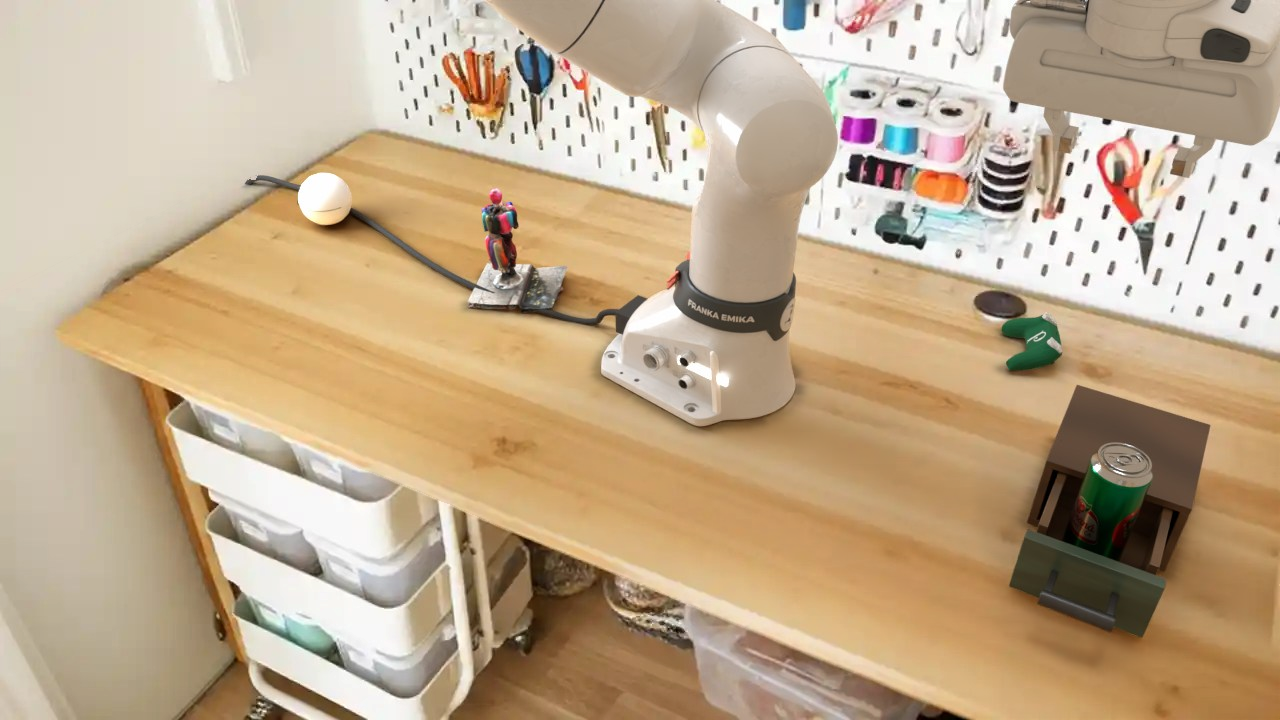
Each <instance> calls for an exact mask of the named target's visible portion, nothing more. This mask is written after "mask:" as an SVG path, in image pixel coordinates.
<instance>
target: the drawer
mask: <svg viewBox="0 0 1280 720" xmlns="http://www.w3.org/2000/svg"><path fill="white" fill-rule="evenodd" d="M1082 481H1083V479H1080V478H1077V477H1075V476H1072V475H1069V474H1066V473H1063V472H1060V471H1059V472H1058V475H1057V478H1056V480H1055V483H1054V485H1053V488H1052V491H1051V493H1050V496H1049V498H1048V501H1047V504H1046V506H1045V509H1044V512H1043V514H1042V517H1041V519H1040V522H1039V525H1038V526H1037V528H1036V531H1034V530H1032V529H1029V528H1027V529H1026V532H1025V534H1024V537H1023V540H1022V543H1021V546H1020V549H1019V553H1018V556H1017V559H1016V562H1015V565H1014V568H1013V571H1012V574H1011V576H1010V577H1011V578H1010V580H1009V583H1008V587H1009V588H1012V589H1014V590H1017V591H1019V592H1022V593H1025V594H1027V595H1030V596H1032V597H1034V598H1038V599H1037V602H1036V604H1037V605H1038V606H1041V607H1043V608H1047V609H1049V610H1051V611H1054V612H1057V613H1059V614H1062V615H1064V616H1066V617H1069V618H1072V619H1075V620H1077V621H1080V622H1081V623H1084V624H1087V625H1090V626H1093V627H1094V628H1098V629H1100V630H1103V631H1105V632H1108V633H1112V631H1113V629H1114V628H1115V629H1118V630H1119V631H1123V632H1125V633H1127V634H1130V635H1133V636H1136V637H1138V638H1141V639H1142V638H1144V636H1145V634H1146V631H1147V629H1148V627H1149V625H1150V622H1151V621H1152V617H1153V615H1154V613H1155V611H1156V608H1157V607H1158V605H1159V603H1160V600H1161V598H1162V596H1163V593H1164V591H1165V588H1166V585H1167V579H1166V577H1165V578H1164V577H1162V576H1159V575H1157V574H1158V572H1159V571H1160V570H1159V567H1160V563H1161V559H1162V555H1163V551H1164V547H1165V542H1166V538H1167V534H1168V530H1169V526H1170V521H1171V517H1172V513H1173V509H1170V508H1167V507H1164V506H1161V505H1158V504H1155V503H1152V502H1149V501H1146V500H1144V502H1143V504H1142V507H1141V509H1140V512H1139V514H1138V517H1137V519H1136V522H1135V524H1134V527H1133V529H1132V532H1131V534H1130V537H1129V539H1128V542H1127V544H1126V547H1125V549H1124V552H1123V554H1122V557H1121V559H1120V561H1119V562H1118V561H1115V560H1112V559H1109V558H1107V557H1104V556H1101V555H1098V554H1096V553H1093V552H1090V551H1087V550H1085V549H1082V548H1079V547H1076V546H1073V545H1071V544H1068V543H1065V542H1062V538H1063V536H1064V533H1065V530H1066V527H1067V524H1068V521H1069V518H1070V516H1071V513H1072V510H1073V507H1074V504H1075V501H1076V498H1077V496H1078V493H1079V490H1080V487H1081V484H1082Z"/></svg>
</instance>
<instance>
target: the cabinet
mask: <svg viewBox="0 0 1280 720" xmlns="http://www.w3.org/2000/svg"><path fill="white" fill-rule="evenodd" d="M1210 428H1211V424H1209V423H1205V422H1203V421H1199V420H1196V419H1192V418H1190V417H1186V416H1184V415H1183V416H1182V415H1179V414H1176V413H1173V412H1170V411H1167V410H1163V409H1160V408H1157V407H1153V406H1150V405H1146V404H1143V403H1140V402H1136V401H1134V400H1130V399H1126V398H1123V397H1120V396H1116V395H1113V394H1110V393H1107V392H1103V391H1100V390H1098V389H1097V390H1096V389H1093V388H1090V387H1087V386H1083V385H1080V384H1076V386H1075V388H1074V391H1073V393H1072V396H1071V398H1070V401H1069V403H1068V406H1067V408H1066V410H1065V413H1064V416H1063V418H1062V420H1061V423H1060V426H1059V428H1058V430H1057V433H1056V435H1055V438H1054V440H1053V443H1052V445H1051V448H1050V450H1049V452H1048V456H1047V458H1046V460H1045V464H1044V467H1043V470H1042V473H1041V476H1040V479H1039V483H1038V486H1037V489H1036V492H1035V495H1034V498H1033V501H1032V504H1031V508H1030V511H1029V514H1028V518H1027V519H1026V523H1027V524H1029V525H1032V526H1035V527H1038V525H1039V522H1040V519H1041V517H1042V514H1043V512H1044V509H1045V506H1046V504H1047V501H1048V498H1049V496H1050V493H1051V491H1052V488H1053V485H1054V483H1055V480H1056V478H1057V475H1058V472H1059V471H1060V472H1063V473H1066V474H1069V475H1072V476H1075V477H1077V478H1080V479H1083V478H1084V476H1085V473H1086V470H1087V467H1088V464H1089V461H1090V458H1091V457H1092V455H1093V454H1094V453H1096V452H1097V451H1098V450H1099V448H1100V447H1101V446H1103V445H1105V444H1107V443H1124V444H1128V445H1131V446H1134V447H1136V448H1138V449H1140V450H1141V451H1143V452H1144V453H1145V454H1146V455H1147V456H1148V457H1149V458H1150V460H1151V463H1152V469H1151V470H1152V472H1153V480H1152V482H1151V484H1150V487H1149V489H1148V492H1147V494H1146V497H1145V499H1144V500H1146V501H1149V502H1152V503H1155V504H1158V505H1161V506H1164V507H1167V508H1170V509H1173V513H1172V517H1171V521H1170V526H1169V530H1168V534H1167V538H1166V542H1165V547H1164V551H1163V555H1162V559H1161V563H1160V567H1159V570H1158V571H1160V572H1163V573H1165V571H1166V570H1167V567H1168V565H1169V564H1170V563H1169V562H1170V560H1171V558H1172V556H1173V555H1174V551H1175V549H1176V547H1177V544H1178V542H1179V541H1180V538H1181V536H1182V533H1183V532H1184V528H1185V526H1186V524H1187V522H1188V520H1189V518H1190V515H1191V513H1192V511H1193V508H1194V504H1195V503H1194V502H1195V498H1196V494H1197V489H1198V484H1199V480H1200V475H1201V470H1202V467H1203V462H1204V457H1205V452H1206V448H1207V444H1208V438H1209V434H1210V430H1211V429H1210Z"/></svg>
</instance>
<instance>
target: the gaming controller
mask: <svg viewBox="0 0 1280 720" xmlns="http://www.w3.org/2000/svg"><path fill="white" fill-rule="evenodd" d="M1000 329H1001V332H1002V335H1004V336H1006V337H1009V338H1020V339H1024V342H1025V349H1026V350H1024V351H1021V352H1018V353H1015V354H1014V355H1013V356H1011V357H1010V358H1008V359H1007V360H1006V361H1005V365H1006V368H1007V369H1008V371H1013V372H1024V371H1032V370H1036V369H1039V368H1043V367H1047V366H1049V365H1053V364H1054V363H1056V361H1057V360H1058V359H1059V358H1061V357H1062V356H1063V346H1062V340H1061V336H1060V331H1059V327H1058V323H1057V320H1056V319H1055V318H1054V316H1052V314H1050V313H1049V312H1048V311H1045V312H1044V314H1041V315H1039V316H1035V317H1017V318H1012V319H1009V320H1006V321H1005V322H1004V323H1003V324H1002V326H1001V328H1000Z"/></svg>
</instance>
